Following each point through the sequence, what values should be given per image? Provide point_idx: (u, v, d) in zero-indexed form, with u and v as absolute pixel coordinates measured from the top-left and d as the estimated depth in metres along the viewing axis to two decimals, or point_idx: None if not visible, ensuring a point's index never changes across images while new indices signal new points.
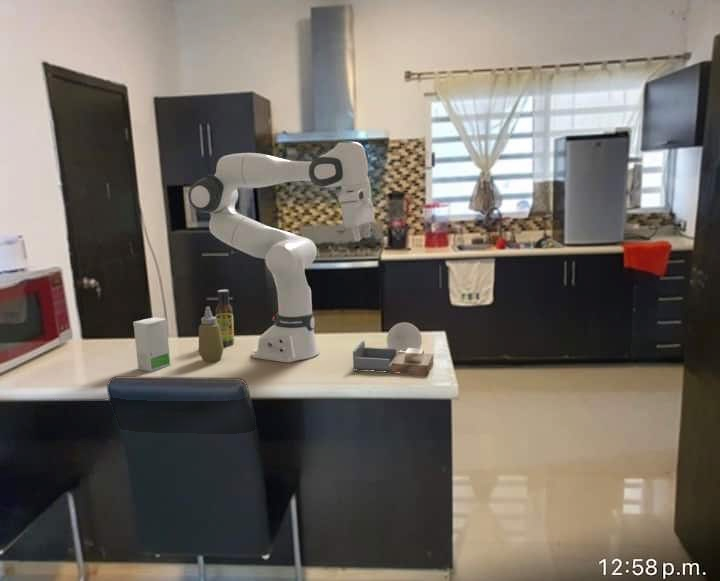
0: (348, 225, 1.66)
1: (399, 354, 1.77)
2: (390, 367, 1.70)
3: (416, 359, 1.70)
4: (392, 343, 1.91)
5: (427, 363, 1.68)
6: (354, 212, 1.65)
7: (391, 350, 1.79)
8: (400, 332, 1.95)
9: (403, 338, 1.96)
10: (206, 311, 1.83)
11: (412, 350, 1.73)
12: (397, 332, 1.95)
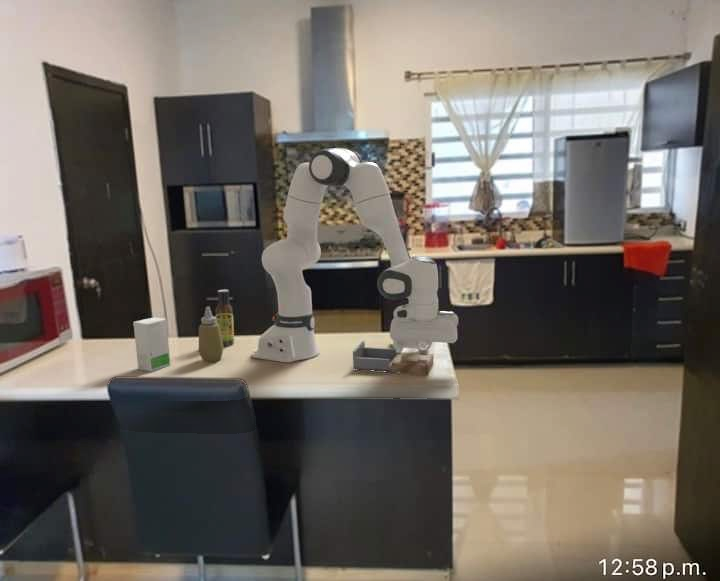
0: None
1: (399, 354, 1.77)
2: (390, 367, 1.70)
3: (412, 359, 1.70)
4: (395, 344, 1.90)
5: (427, 363, 1.68)
6: None
7: (391, 350, 1.79)
8: None
9: None
10: (206, 311, 1.83)
11: (408, 350, 1.73)
12: None
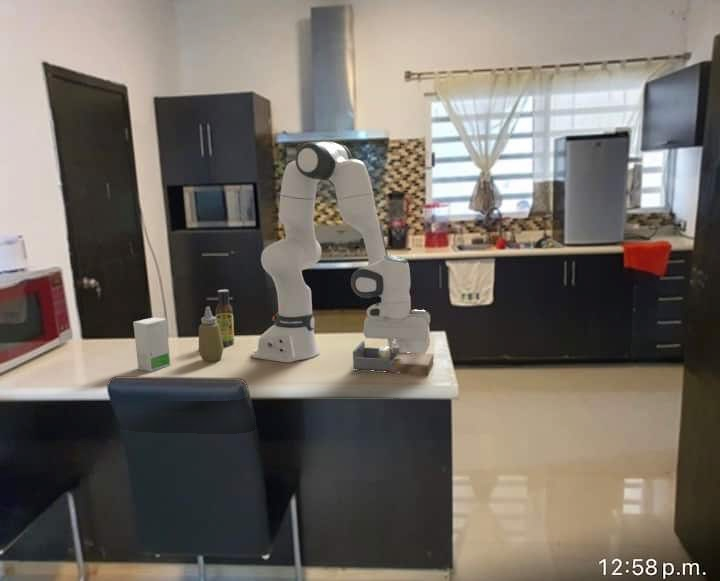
0: None
1: (399, 354, 1.77)
2: (390, 367, 1.70)
3: (384, 355, 1.72)
4: (397, 345, 1.89)
5: (427, 363, 1.68)
6: (364, 325, 1.73)
7: (391, 350, 1.79)
8: None
9: None
10: (206, 311, 1.83)
11: None
12: None
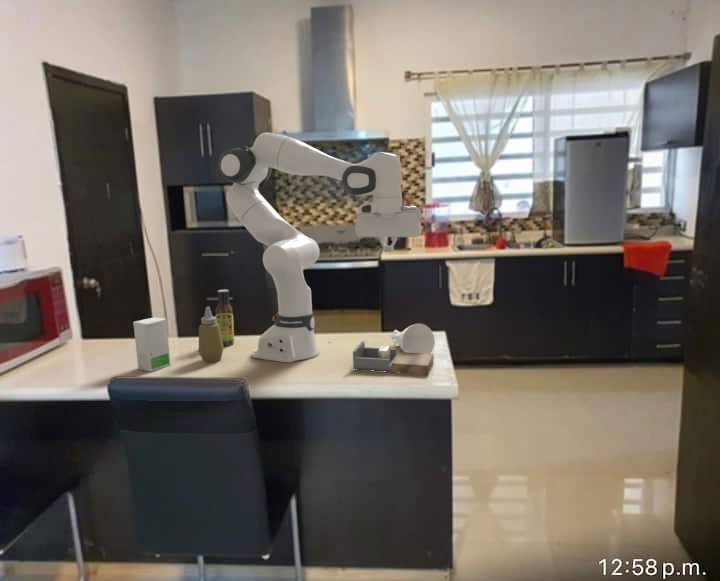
0: None
1: (399, 354, 1.77)
2: (390, 367, 1.70)
3: (384, 355, 1.72)
4: None
5: (427, 363, 1.68)
6: None
7: (391, 350, 1.79)
8: (404, 334, 1.92)
9: (406, 340, 1.94)
10: (206, 311, 1.83)
11: None
12: None
